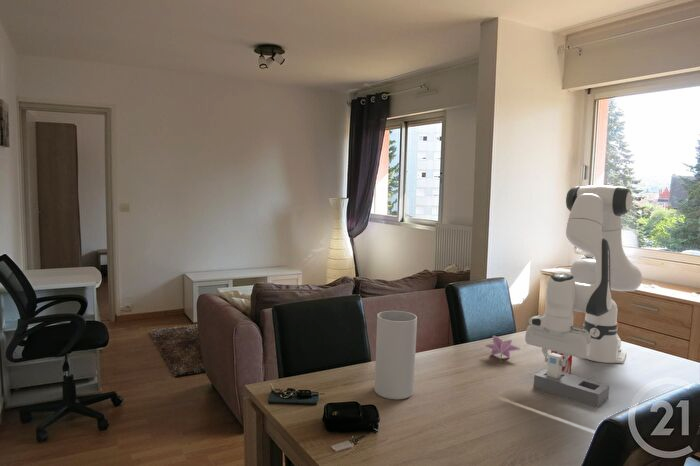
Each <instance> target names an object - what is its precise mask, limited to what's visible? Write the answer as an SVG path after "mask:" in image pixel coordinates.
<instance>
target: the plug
mask: <svg viewBox="0 0 700 466" xmlns="http://www.w3.org/2000/svg"><path fill="white" fill-rule="evenodd" d="M548 354H549V355H548V362H547V365H546V366H547V367H546V368H547V376H550V377H553V378H556V379H560V378H561V371H562V366H559V364H560V363H559V361H560V360H561V359H563V355H559V354H555V353H551V352H550V353H548Z"/></svg>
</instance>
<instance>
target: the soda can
mask: <svg viewBox="0 0 700 466" xmlns="http://www.w3.org/2000/svg"><path fill="white" fill-rule="evenodd" d="M550 351H551V352H550V354H551V353H555V354H559V355H563V353H560V352H556V351H552V350H550ZM564 358H565V357H564V356H563V359H564ZM563 359H562V360H563ZM572 365H573V356H571V355H570V357H569V358H568V359H567V360H566V365H565V366H564V367H563V366H562V371H561V372H565V373H568V374H571V372H572Z"/></svg>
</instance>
